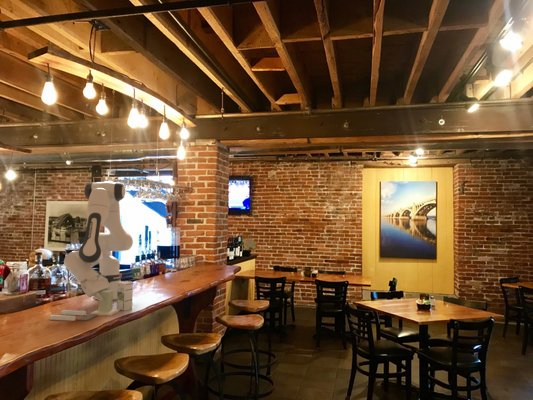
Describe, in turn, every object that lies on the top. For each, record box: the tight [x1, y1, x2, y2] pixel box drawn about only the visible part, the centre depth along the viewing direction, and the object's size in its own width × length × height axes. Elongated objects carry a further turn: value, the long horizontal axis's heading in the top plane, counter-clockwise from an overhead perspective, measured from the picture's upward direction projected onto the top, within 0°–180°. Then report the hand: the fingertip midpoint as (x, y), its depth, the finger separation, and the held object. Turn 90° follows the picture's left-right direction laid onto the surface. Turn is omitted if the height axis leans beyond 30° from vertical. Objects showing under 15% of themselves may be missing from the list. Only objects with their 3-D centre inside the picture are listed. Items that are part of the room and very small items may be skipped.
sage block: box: [97, 290, 114, 312], centre depth 201 cm, size 5×5×10 cm
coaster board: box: [90, 308, 120, 317], centre depth 200 cm, size 10×10×1 cm
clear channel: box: [49, 309, 99, 322], centre depth 190 cm, size 11×18×2 cm, turn 87°
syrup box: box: [116, 280, 134, 312], centre depth 209 cm, size 6×6×14 cm
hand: (107, 298), depth 201 cm, fingers open, 8 cm apart
